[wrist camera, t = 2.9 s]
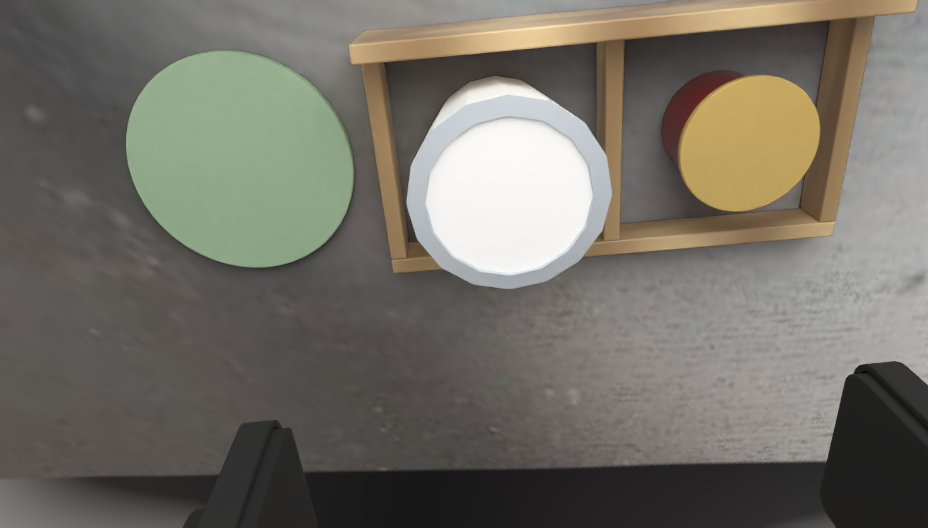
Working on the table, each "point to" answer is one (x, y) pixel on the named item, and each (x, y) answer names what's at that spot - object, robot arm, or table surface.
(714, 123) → the coffee pod
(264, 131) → the coaster
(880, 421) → the robot arm
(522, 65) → the table surface
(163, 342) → the table surface
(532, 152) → the shot glass
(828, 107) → the pod caddy
